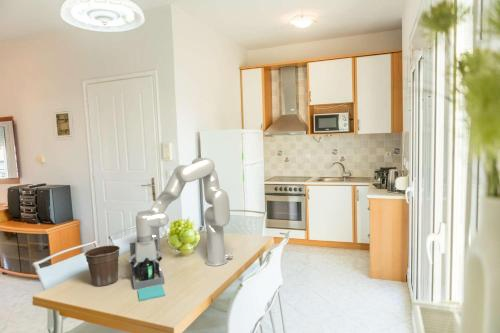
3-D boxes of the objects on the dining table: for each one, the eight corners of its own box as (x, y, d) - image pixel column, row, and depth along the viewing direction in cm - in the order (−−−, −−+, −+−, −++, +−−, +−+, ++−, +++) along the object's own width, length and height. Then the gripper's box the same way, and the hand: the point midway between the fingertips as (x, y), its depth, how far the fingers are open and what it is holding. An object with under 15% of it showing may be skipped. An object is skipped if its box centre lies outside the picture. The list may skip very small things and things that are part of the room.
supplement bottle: (154, 281, 165) (152, 258, 164) (139, 283, 164) (138, 259, 163) (155, 276, 172) (153, 253, 171) (141, 278, 170) (139, 255, 169)
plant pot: (82, 290, 158) (79, 257, 157) (91, 277, 174) (89, 247, 173) (118, 286, 161) (116, 253, 160) (124, 273, 177) (122, 243, 176)
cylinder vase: (135, 252, 211) (133, 213, 209) (148, 246, 222) (146, 209, 220) (151, 254, 206) (149, 214, 204) (164, 248, 218) (161, 210, 216)
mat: (162, 286, 159) (161, 284, 159) (165, 295, 149) (165, 294, 149) (137, 291, 155) (137, 289, 155) (139, 301, 145) (139, 299, 145)
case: (159, 269, 180) (157, 239, 179) (164, 283, 162) (162, 249, 161) (131, 274, 175) (129, 242, 174) (134, 289, 157) (131, 254, 155)
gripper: (161, 234, 173) (163, 266, 174) (126, 239, 166) (128, 272, 167) (163, 237, 166) (165, 271, 167) (126, 243, 159) (128, 278, 161)
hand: (146, 272), depth 167 cm, fingers open, 9 cm apart
